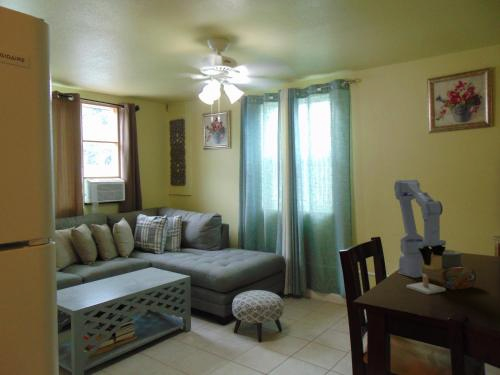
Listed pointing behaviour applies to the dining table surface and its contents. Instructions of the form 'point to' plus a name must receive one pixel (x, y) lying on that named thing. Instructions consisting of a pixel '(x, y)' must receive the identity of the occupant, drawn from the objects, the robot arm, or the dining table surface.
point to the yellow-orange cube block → (434, 262)
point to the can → (451, 259)
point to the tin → (458, 277)
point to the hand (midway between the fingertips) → (431, 264)
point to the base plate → (425, 287)
